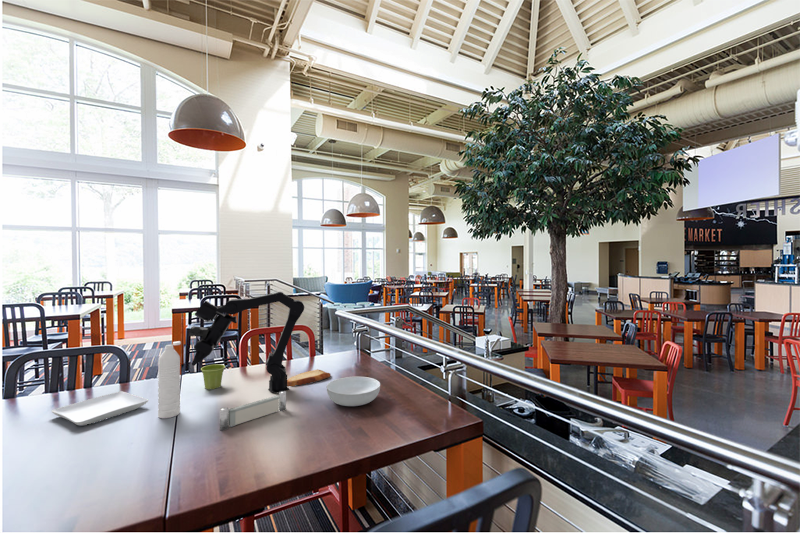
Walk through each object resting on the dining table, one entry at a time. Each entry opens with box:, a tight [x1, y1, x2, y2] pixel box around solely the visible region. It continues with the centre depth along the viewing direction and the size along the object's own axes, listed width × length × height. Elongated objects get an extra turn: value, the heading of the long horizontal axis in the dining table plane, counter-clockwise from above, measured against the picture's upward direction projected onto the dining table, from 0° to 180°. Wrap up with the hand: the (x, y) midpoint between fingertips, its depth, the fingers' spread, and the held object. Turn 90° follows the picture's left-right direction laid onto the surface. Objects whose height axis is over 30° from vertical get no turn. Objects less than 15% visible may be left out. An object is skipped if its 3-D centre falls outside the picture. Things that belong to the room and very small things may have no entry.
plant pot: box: [200, 363, 226, 390], centre depth 151 cm, size 9×9×9 cm
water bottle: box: [157, 340, 182, 419], centre depth 125 cm, size 9×6×25 cm
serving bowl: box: [326, 376, 381, 407], centre depth 136 cm, size 21×21×7 cm
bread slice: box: [287, 368, 332, 387], centre depth 161 cm, size 18×18×4 cm
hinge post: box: [278, 390, 287, 412], centre depth 128 cm, size 2×2×6 cm
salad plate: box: [51, 390, 149, 426], centre depth 125 cm, size 21×21×3 cm
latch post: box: [219, 406, 229, 431], centre depth 113 cm, size 2×2×6 cm
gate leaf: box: [228, 395, 280, 428], centre depth 120 cm, size 17×2×5 cm, turn 137°
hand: (195, 362), depth 138 cm, fingers open, 9 cm apart
